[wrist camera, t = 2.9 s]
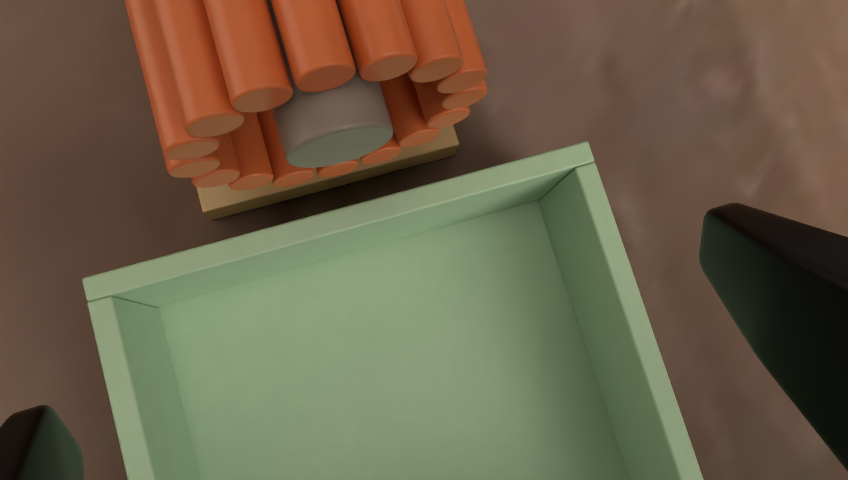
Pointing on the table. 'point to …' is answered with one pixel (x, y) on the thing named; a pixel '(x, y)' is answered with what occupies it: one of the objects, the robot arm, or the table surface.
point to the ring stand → (328, 141)
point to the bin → (399, 342)
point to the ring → (295, 76)
